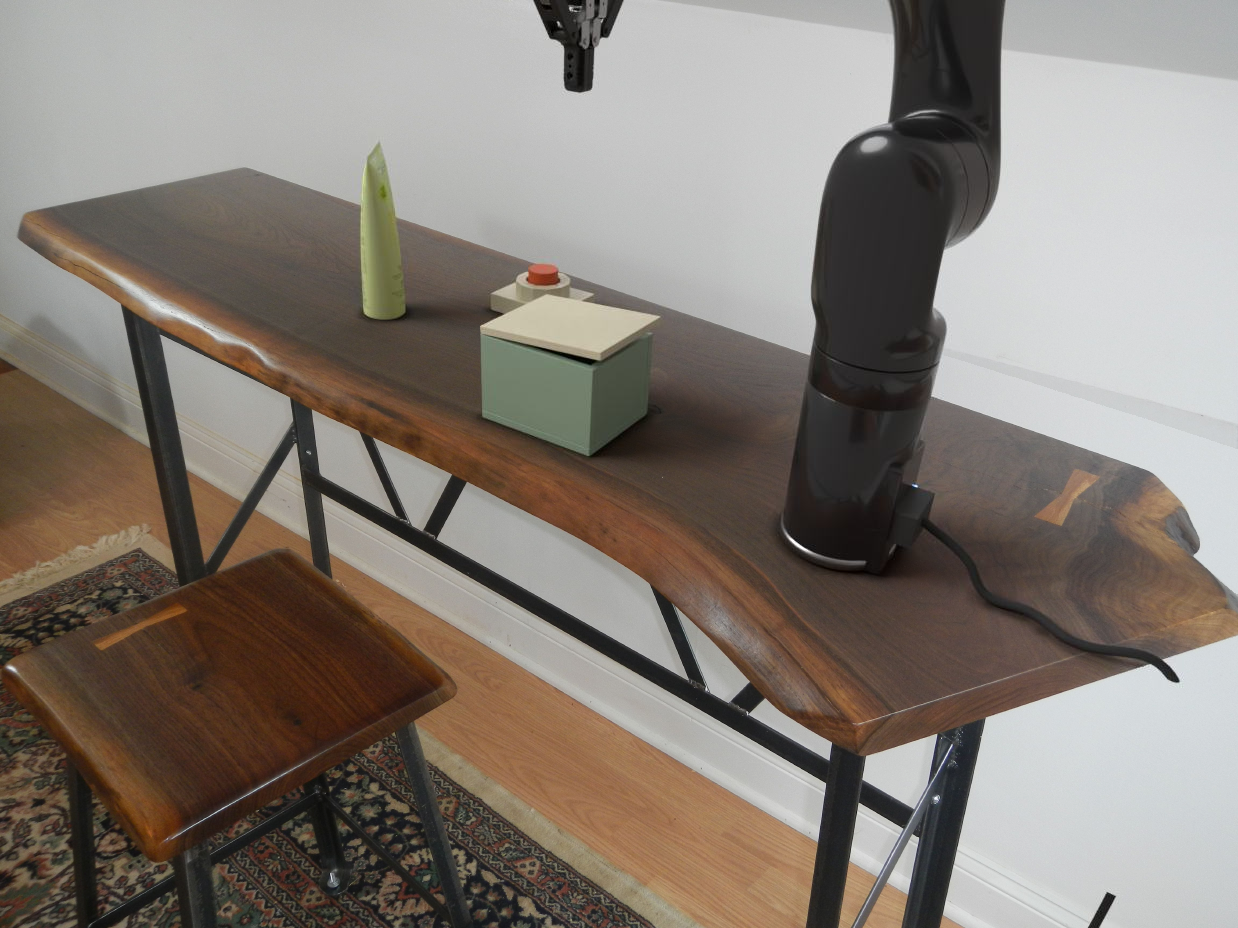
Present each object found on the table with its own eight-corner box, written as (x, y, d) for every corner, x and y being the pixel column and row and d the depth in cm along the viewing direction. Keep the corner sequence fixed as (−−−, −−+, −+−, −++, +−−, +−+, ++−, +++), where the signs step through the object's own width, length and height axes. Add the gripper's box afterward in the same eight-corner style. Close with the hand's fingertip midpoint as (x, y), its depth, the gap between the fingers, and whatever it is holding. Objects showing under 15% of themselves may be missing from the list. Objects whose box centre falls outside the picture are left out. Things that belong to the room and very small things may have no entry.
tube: (417, 316, 115) (407, 149, 104) (380, 326, 111) (366, 155, 101) (391, 302, 118) (379, 139, 108) (354, 311, 115) (339, 144, 105)
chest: (647, 414, 96) (653, 333, 92) (589, 456, 88) (592, 370, 84) (545, 380, 102) (546, 302, 97) (482, 417, 94) (480, 334, 89)
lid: (661, 324, 91) (661, 316, 90) (600, 361, 83) (600, 352, 82) (546, 301, 97) (546, 294, 97) (480, 334, 89) (479, 325, 89)
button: (563, 282, 117) (564, 268, 116) (546, 290, 114) (546, 276, 113) (540, 275, 119) (540, 261, 118) (522, 283, 116) (522, 269, 115)
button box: (594, 310, 119) (595, 280, 117) (557, 330, 113) (558, 298, 111) (529, 292, 123) (529, 262, 121) (490, 310, 117) (490, 279, 115)
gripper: (577, -132, 73) (571, 106, 82) (663, -124, 83) (649, 88, 91) (499, -136, 76) (501, 94, 85) (591, -128, 86) (584, 77, 95)
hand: (578, 90), depth 88 cm, fingers closed
